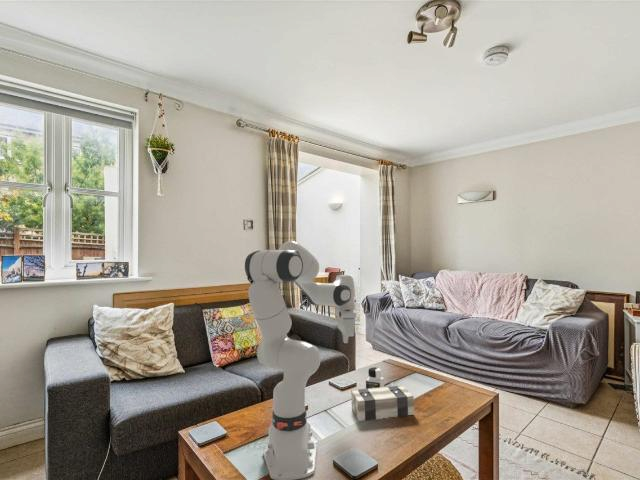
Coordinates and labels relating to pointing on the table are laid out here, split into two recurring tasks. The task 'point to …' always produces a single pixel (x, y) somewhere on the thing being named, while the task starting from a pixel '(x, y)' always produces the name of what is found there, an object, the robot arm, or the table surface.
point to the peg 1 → (365, 394)
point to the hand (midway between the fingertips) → (345, 342)
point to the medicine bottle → (374, 378)
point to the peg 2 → (396, 392)
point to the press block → (382, 403)
